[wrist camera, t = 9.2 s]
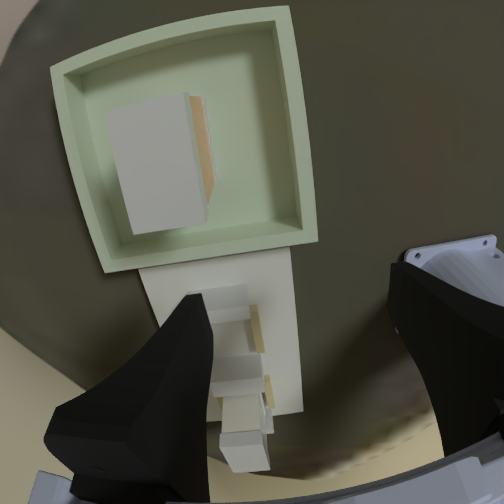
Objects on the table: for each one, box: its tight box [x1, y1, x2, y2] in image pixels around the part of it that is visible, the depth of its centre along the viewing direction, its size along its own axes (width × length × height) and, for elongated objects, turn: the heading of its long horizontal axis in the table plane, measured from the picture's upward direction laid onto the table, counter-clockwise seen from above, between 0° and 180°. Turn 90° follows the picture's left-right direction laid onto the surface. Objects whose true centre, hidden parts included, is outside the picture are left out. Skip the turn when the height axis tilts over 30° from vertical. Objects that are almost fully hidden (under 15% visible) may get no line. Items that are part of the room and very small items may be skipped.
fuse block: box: [138, 246, 303, 434], centre depth 24 cm, size 10×18×4 cm, turn 9°
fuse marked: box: [105, 92, 218, 235], centre depth 14 cm, size 3×5×7 cm, turn 7°
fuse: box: [220, 393, 270, 473], centre depth 23 cm, size 3×5×7 cm, turn 9°
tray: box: [50, 6, 318, 273], centre depth 16 cm, size 13×13×3 cm
